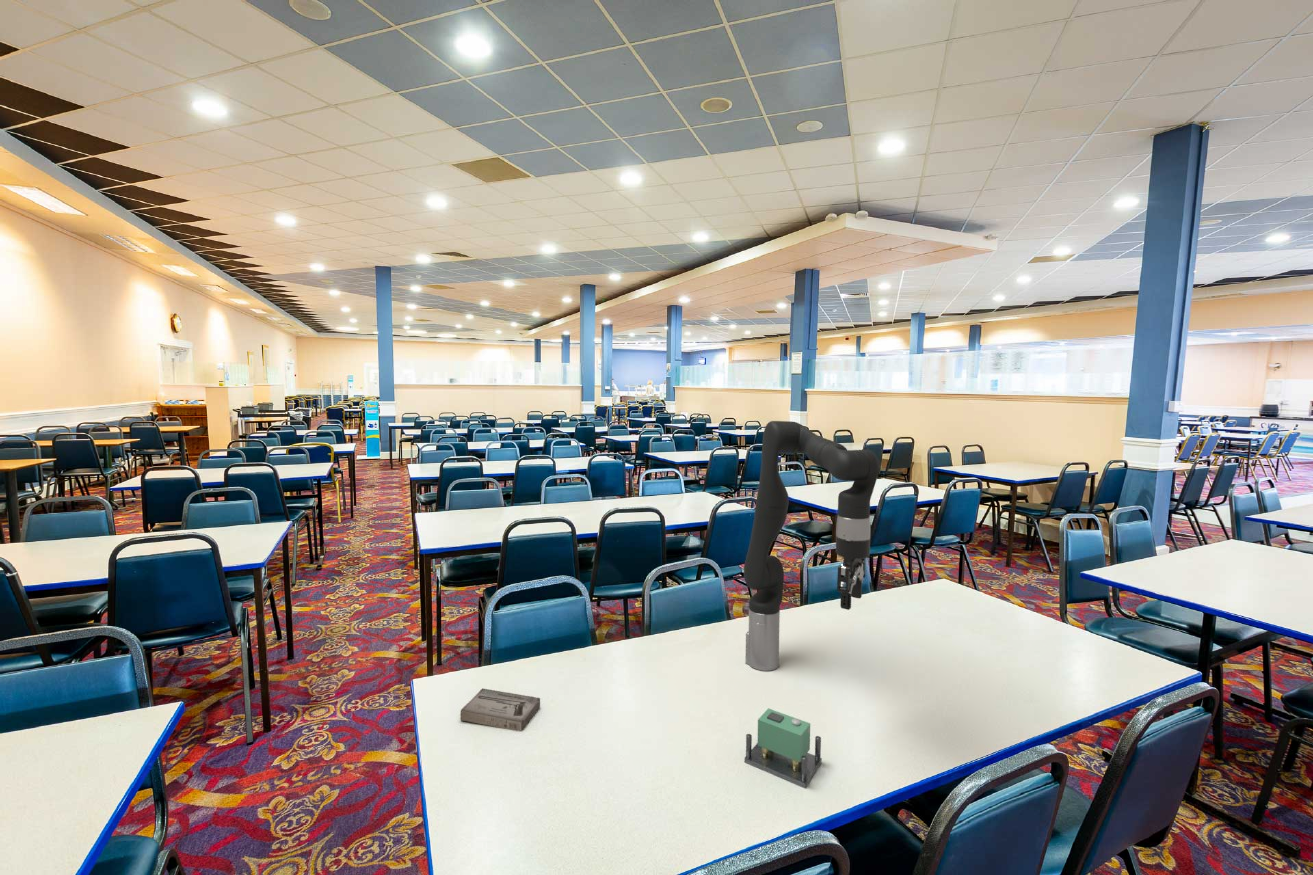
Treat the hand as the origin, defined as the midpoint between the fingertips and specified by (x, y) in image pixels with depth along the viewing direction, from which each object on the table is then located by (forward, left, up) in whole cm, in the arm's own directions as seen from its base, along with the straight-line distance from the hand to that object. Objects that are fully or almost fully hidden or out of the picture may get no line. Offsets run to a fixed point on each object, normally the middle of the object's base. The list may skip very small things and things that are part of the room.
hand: (851, 602), depth 129 cm
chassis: (-9, -18, -33) cm, 39 cm away
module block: (-9, -17, -30) cm, 35 cm away
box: (-75, -42, -34) cm, 93 cm away
